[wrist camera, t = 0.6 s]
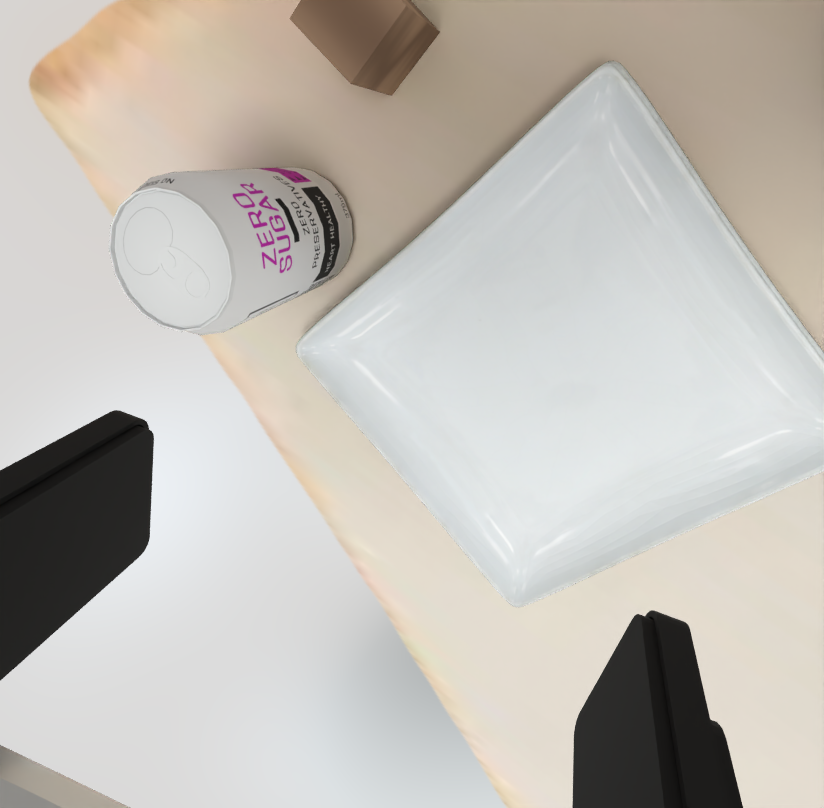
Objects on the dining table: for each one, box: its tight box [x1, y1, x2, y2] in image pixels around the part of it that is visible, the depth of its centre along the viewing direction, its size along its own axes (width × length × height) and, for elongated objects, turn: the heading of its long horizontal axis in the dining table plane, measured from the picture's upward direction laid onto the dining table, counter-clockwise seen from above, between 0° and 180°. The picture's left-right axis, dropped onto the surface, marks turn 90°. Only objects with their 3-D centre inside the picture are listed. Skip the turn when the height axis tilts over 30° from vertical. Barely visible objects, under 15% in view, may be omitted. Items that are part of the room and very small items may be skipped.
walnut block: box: [290, 0, 440, 95], centre depth 32 cm, size 4×4×7 cm
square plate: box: [296, 61, 824, 607], centre depth 39 cm, size 27×27×4 cm
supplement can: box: [109, 167, 353, 335], centre depth 35 cm, size 8×8×15 cm
